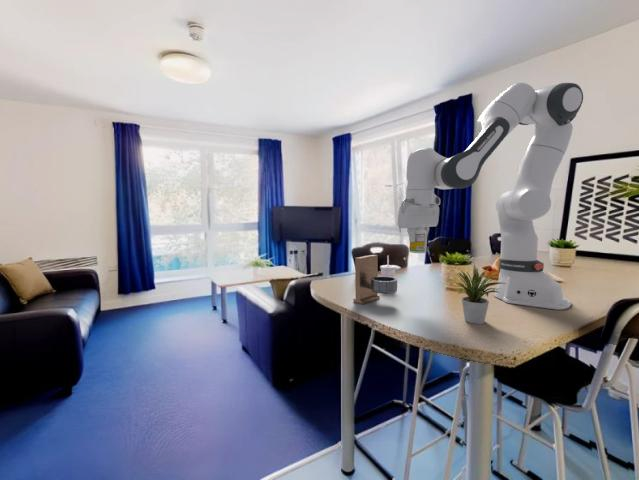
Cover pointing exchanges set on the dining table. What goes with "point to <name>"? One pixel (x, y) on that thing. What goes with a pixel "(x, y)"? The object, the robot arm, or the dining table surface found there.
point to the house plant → (476, 296)
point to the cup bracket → (371, 280)
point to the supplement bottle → (419, 241)
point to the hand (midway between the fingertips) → (418, 241)
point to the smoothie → (388, 269)
